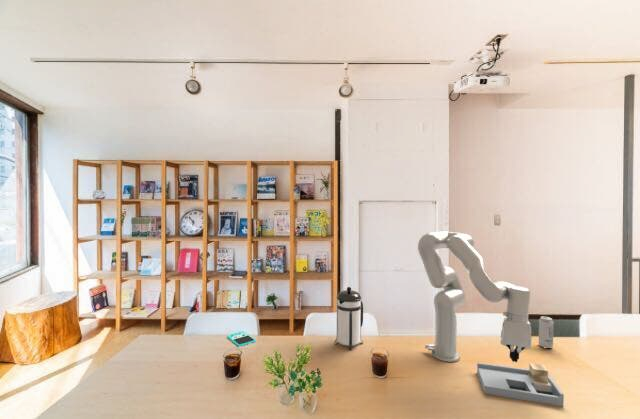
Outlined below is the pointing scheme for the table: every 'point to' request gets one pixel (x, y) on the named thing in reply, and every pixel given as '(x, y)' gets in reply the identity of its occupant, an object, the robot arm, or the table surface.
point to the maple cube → (538, 373)
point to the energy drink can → (546, 332)
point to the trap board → (517, 384)
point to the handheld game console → (241, 338)
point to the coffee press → (349, 318)
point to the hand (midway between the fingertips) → (513, 360)
